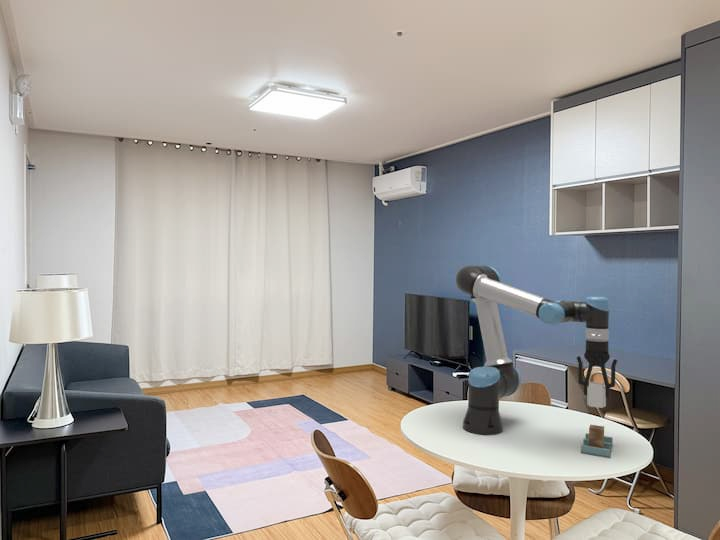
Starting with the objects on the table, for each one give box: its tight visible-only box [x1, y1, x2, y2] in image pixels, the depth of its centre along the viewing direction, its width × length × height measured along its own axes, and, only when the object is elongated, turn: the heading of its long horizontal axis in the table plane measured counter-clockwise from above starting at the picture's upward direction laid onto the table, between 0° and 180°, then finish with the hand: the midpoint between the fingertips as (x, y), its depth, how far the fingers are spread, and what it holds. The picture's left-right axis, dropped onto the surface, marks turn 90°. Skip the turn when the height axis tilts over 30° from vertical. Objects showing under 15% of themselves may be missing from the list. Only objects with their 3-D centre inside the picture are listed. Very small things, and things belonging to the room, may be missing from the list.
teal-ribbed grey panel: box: [580, 432, 614, 459], centre depth 193 cm, size 9×16×3 cm, turn 152°
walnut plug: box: [588, 424, 605, 448], centre depth 189 cm, size 4×4×8 cm
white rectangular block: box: [588, 381, 605, 409], centre depth 196 cm, size 4×4×8 cm
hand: (596, 404), depth 196 cm, fingers closed on white rectangular block, 4 cm apart
